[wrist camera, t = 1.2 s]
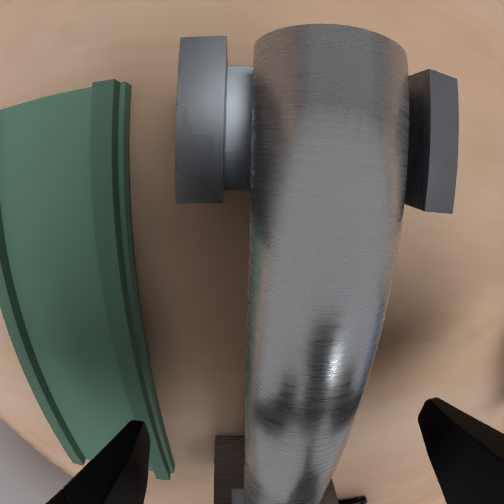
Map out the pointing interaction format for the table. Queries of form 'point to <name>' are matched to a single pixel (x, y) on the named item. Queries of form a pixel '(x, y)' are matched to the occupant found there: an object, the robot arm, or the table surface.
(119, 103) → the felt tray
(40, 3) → the table surface
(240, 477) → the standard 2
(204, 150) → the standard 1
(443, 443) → the robot arm
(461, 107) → the table surface
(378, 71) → the rail
